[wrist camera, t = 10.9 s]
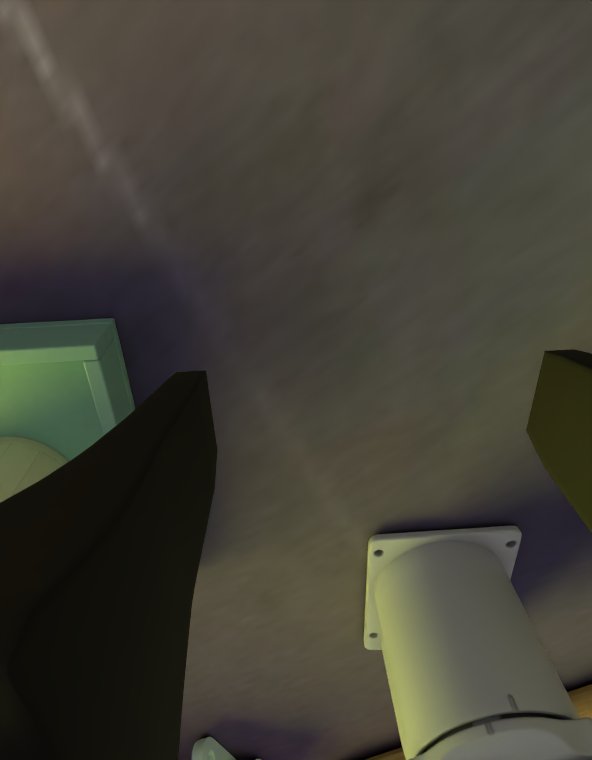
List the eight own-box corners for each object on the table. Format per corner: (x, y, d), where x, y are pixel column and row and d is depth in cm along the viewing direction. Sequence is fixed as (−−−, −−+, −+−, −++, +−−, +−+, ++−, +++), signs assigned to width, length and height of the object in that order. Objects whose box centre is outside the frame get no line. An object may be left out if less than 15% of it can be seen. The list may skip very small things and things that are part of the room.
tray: (175, 578, 27) (167, 620, 25) (-34, 592, 26) (-61, 636, 24) (114, 317, 19) (94, 344, 17) (-179, 333, 19) (-236, 363, 17)
